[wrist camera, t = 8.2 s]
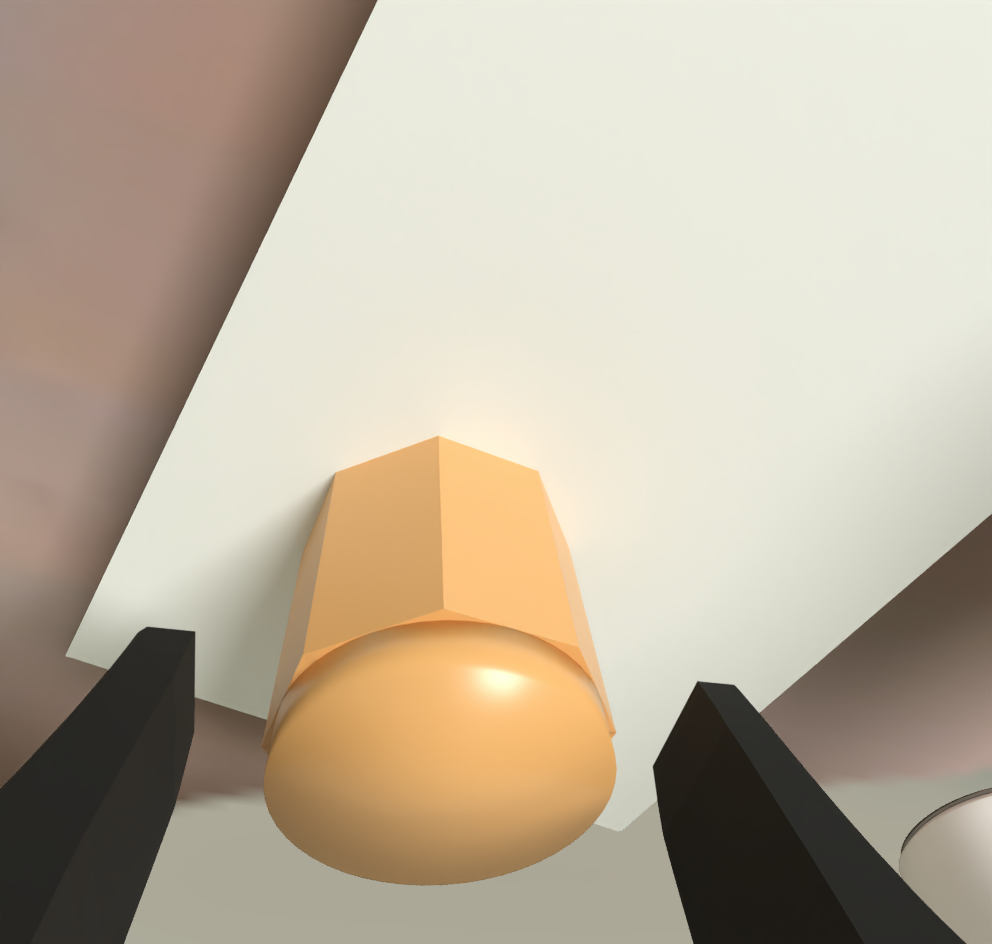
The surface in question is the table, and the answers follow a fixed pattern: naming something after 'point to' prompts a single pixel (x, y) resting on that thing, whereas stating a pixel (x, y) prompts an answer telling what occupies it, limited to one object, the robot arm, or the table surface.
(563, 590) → the cap
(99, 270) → the table surface
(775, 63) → the junction box
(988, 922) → the can
